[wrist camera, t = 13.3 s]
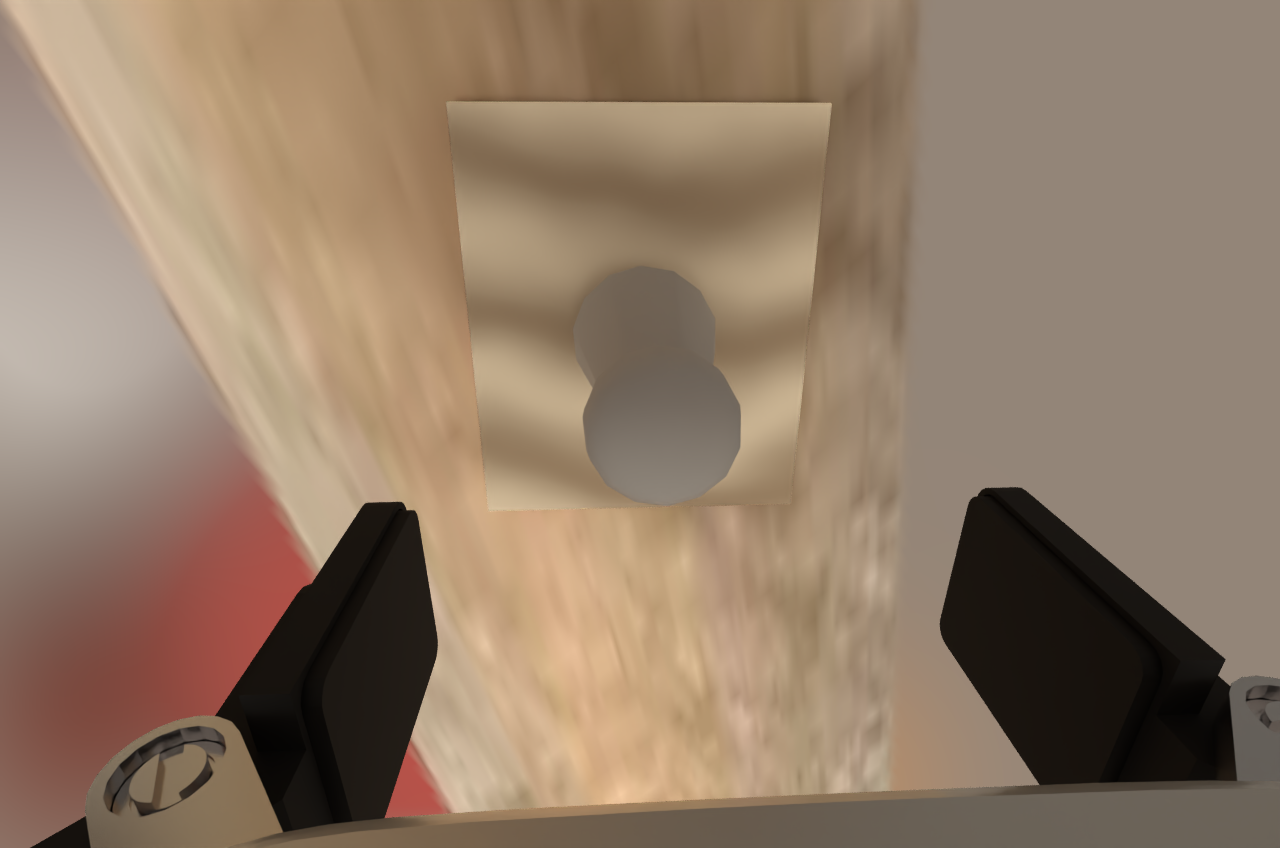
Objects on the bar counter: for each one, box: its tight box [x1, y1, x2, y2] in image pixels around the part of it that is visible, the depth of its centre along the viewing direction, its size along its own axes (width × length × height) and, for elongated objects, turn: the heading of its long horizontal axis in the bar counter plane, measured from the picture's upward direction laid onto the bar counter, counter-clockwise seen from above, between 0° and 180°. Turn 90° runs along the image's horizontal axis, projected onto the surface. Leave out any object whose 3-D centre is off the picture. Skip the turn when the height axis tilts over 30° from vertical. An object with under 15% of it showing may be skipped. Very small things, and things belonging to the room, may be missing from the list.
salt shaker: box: [573, 266, 741, 506], centre depth 22 cm, size 6×6×13 cm
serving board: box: [446, 101, 832, 511], centre depth 29 cm, size 18×15×2 cm
